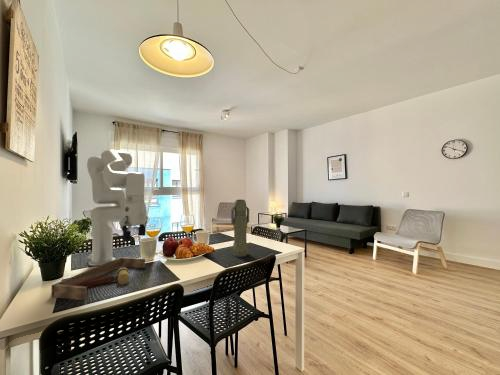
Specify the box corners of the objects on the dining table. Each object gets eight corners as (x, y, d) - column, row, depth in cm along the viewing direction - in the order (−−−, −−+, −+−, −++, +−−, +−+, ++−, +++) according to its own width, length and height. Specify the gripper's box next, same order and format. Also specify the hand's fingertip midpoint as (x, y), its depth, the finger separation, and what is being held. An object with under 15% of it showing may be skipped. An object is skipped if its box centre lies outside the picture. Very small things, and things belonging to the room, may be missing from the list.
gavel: (68, 287, 85) (71, 279, 93) (69, 299, 85) (72, 289, 93) (129, 272, 97) (127, 266, 105) (130, 283, 97) (128, 275, 105)
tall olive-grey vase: (251, 254, 137) (252, 199, 138) (235, 258, 131) (235, 200, 131) (244, 251, 145) (244, 199, 145) (228, 254, 138) (229, 199, 139)
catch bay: (51, 296, 84) (51, 285, 84) (120, 265, 118) (120, 257, 118) (83, 300, 81) (84, 288, 81) (145, 267, 116) (145, 258, 116)
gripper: (128, 200, 88) (128, 242, 88) (154, 198, 105) (153, 234, 105) (112, 200, 90) (112, 242, 89) (140, 198, 107) (140, 233, 107)
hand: (134, 237), depth 97 cm, fingers open, 9 cm apart
